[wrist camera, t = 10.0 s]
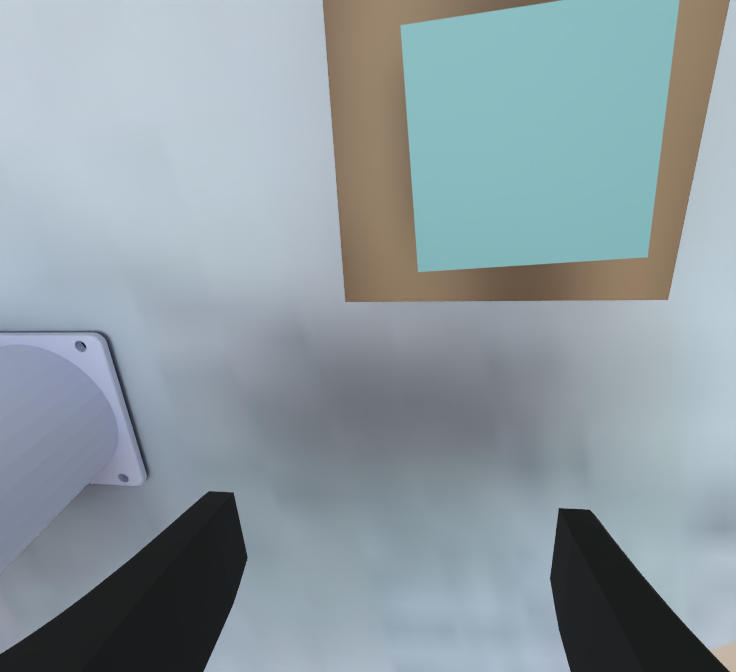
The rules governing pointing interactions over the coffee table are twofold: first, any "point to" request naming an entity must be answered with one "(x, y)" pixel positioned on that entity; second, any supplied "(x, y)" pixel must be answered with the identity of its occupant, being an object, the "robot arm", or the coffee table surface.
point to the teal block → (537, 131)
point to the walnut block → (393, 171)
